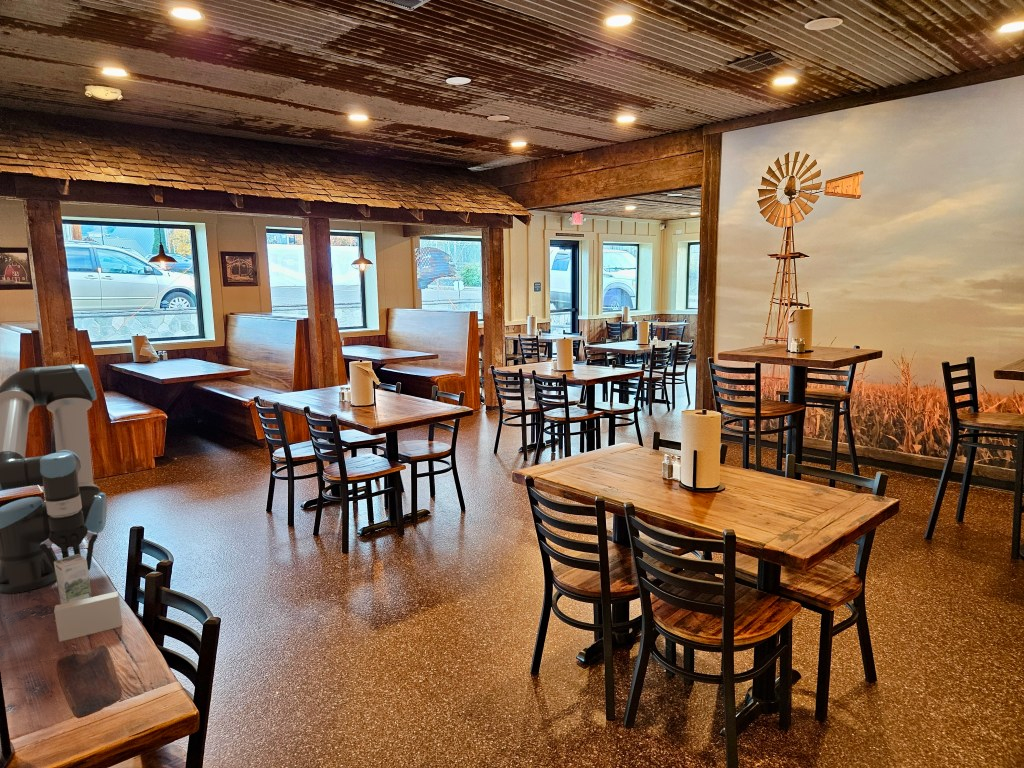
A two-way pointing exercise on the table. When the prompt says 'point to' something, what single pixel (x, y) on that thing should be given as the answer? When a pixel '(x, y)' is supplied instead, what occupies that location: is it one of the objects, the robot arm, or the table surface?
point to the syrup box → (72, 578)
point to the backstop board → (88, 616)
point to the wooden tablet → (89, 681)
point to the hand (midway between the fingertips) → (78, 597)
